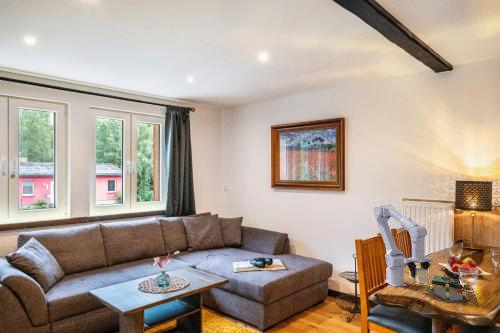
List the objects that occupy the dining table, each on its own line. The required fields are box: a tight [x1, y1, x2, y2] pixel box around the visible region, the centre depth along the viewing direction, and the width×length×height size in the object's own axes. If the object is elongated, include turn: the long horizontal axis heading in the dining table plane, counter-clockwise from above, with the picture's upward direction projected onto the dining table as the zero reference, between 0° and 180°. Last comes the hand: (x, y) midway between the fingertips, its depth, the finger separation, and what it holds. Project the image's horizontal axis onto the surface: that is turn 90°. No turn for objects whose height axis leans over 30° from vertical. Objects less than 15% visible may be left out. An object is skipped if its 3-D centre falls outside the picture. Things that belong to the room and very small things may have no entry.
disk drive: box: [431, 275, 463, 290], centre depth 186 cm, size 10×3×15 cm
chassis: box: [425, 283, 472, 303], centre depth 170 cm, size 16×12×4 cm
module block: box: [408, 265, 429, 284], centre depth 173 cm, size 8×5×6 cm, turn 7°
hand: (418, 276), depth 173 cm, fingers closed on module block, 5 cm apart
